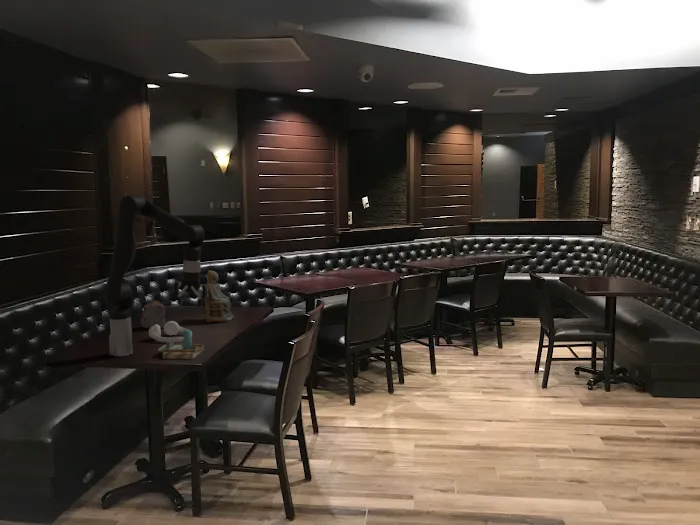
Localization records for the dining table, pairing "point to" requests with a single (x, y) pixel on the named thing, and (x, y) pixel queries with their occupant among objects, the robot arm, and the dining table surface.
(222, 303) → the sculpture
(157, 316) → the rock
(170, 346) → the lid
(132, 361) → the dining table surface
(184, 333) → the peg
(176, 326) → the headphones
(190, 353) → the board
